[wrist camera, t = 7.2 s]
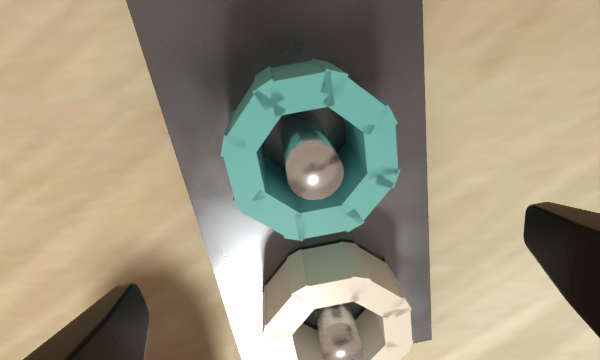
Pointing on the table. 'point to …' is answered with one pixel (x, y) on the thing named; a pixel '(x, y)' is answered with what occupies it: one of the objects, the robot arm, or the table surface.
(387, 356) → the cream gear
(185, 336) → the table surface
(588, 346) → the table surface
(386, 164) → the teal blocky piece
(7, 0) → the table surface
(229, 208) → the gear board
